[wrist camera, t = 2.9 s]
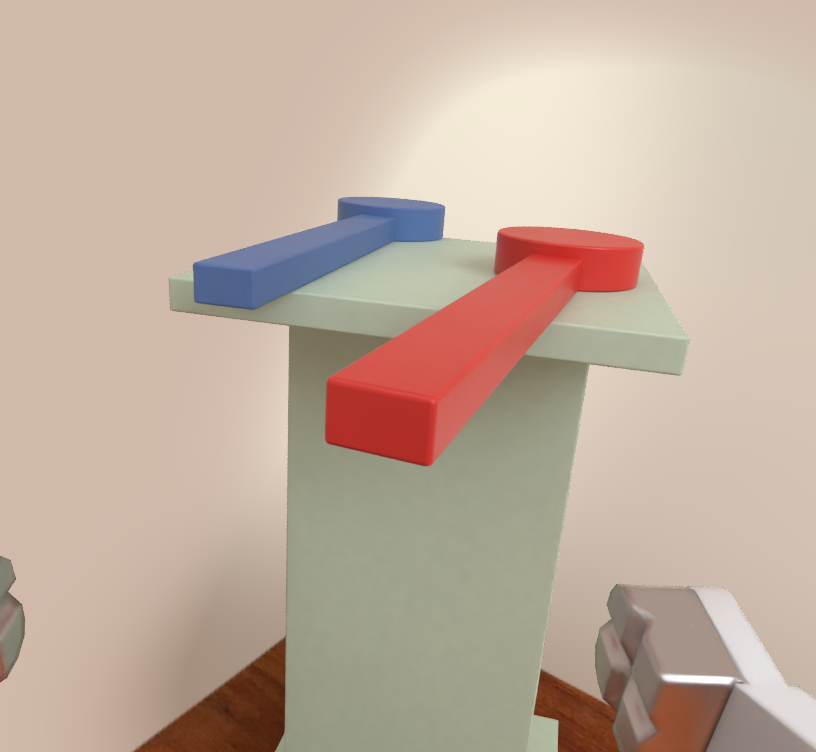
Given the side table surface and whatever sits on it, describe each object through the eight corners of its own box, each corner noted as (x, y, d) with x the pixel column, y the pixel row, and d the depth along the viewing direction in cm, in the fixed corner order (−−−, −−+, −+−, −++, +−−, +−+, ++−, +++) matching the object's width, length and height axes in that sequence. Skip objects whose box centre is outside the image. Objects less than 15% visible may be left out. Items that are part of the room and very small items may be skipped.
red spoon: (553, 499, 8) (569, 393, 8) (224, 422, 10) (221, 329, 10) (640, 276, 25) (648, 236, 24) (511, 259, 26) (515, 222, 26)
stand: (198, 932, 28) (167, 276, 19) (317, 685, 41) (330, 226, 32) (544, 1041, 25) (690, 338, 17) (554, 740, 38) (639, 256, 30)
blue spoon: (318, 319, 16) (319, 259, 16) (133, 296, 17) (129, 238, 16) (450, 233, 33) (453, 203, 33) (355, 223, 34) (356, 194, 33)
